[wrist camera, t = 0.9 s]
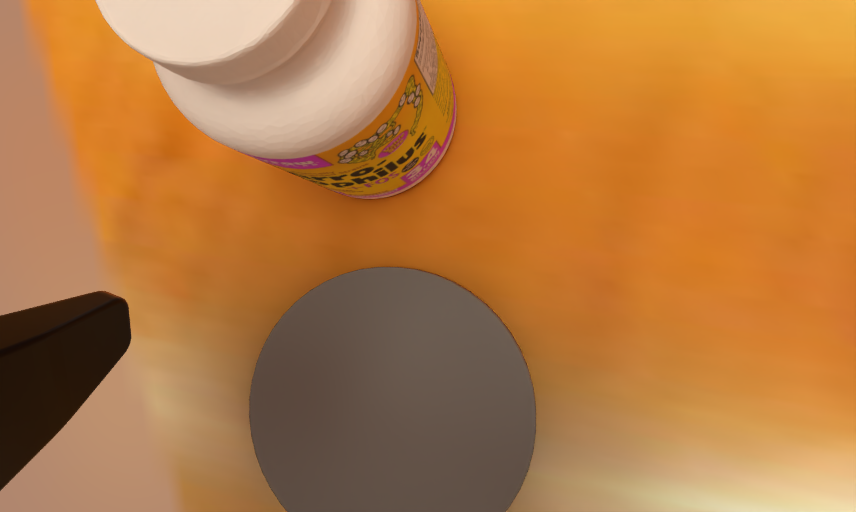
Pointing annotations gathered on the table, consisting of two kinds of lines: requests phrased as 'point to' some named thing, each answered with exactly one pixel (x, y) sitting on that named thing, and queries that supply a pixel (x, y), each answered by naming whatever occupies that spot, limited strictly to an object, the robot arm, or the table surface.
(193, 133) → the table surface
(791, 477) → the table surface
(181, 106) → the supplement bottle
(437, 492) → the slate coaster
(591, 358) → the table surface
